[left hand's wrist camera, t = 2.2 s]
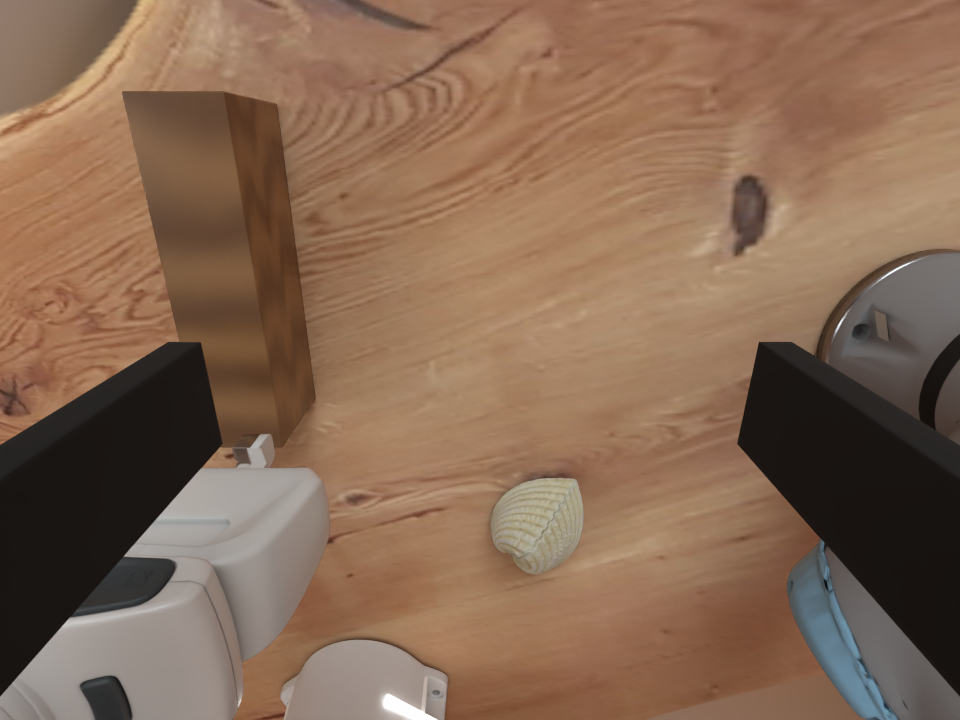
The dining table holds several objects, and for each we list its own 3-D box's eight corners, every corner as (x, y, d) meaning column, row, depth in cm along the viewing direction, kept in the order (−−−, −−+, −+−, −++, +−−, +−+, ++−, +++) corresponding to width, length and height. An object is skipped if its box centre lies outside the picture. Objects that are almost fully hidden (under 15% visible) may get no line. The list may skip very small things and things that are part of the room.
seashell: (461, 542, 48) (493, 514, 42) (510, 482, 53) (545, 449, 47) (527, 606, 47) (570, 586, 41) (570, 538, 52) (614, 512, 46)
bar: (195, 103, 37) (120, 91, 29) (276, 103, 37) (223, 91, 29) (249, 398, 45) (203, 447, 38) (315, 398, 45) (282, 447, 38)
